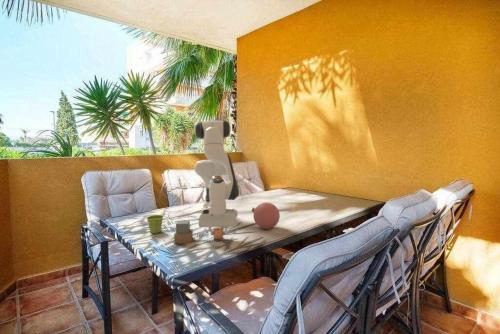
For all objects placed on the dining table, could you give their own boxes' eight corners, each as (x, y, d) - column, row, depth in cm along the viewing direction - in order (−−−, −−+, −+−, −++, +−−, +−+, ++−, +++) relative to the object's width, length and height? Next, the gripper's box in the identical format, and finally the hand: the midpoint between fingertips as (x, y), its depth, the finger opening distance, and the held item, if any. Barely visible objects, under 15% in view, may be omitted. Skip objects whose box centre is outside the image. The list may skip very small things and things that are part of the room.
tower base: (177, 238, 156) (177, 229, 155) (192, 238, 156) (192, 229, 156) (174, 243, 148) (174, 234, 147) (190, 243, 148) (189, 233, 148)
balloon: (262, 221, 186) (262, 198, 185) (285, 228, 170) (285, 203, 169) (243, 226, 176) (243, 201, 175) (265, 234, 161) (265, 206, 160)
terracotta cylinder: (214, 236, 157) (213, 227, 157) (223, 236, 157) (223, 227, 157) (213, 239, 152) (213, 230, 152) (222, 239, 152) (222, 230, 152)
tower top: (178, 230, 154) (178, 220, 154) (189, 229, 155) (189, 220, 154) (176, 233, 148) (175, 224, 148) (188, 233, 149) (187, 223, 148)
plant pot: (146, 235, 161) (145, 219, 161) (147, 230, 170) (146, 215, 170) (164, 233, 164) (163, 218, 163) (164, 228, 173) (163, 214, 172)
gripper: (237, 207, 157) (237, 232, 158) (199, 208, 156) (200, 233, 157) (237, 210, 151) (237, 236, 152) (197, 211, 150) (198, 237, 151)
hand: (218, 234), depth 155 cm, fingers closed on terracotta cylinder, 5 cm apart
